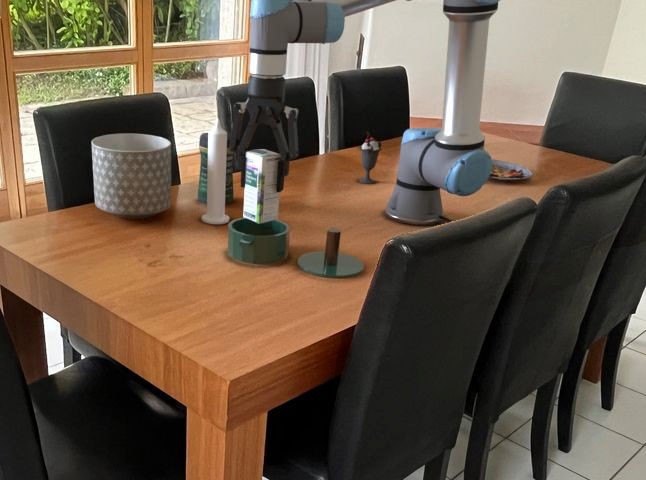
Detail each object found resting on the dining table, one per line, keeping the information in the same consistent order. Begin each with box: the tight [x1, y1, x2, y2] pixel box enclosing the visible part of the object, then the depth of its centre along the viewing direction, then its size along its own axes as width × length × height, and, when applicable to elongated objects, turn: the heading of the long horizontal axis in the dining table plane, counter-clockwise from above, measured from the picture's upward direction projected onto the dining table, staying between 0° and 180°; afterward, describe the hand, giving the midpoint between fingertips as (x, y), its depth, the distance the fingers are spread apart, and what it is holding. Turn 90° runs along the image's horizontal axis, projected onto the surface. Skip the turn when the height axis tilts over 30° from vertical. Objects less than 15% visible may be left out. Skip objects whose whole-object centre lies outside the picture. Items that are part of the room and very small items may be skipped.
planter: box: [91, 133, 172, 221], centre depth 185 cm, size 19×19×18 cm
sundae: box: [358, 131, 382, 185], centre depth 226 cm, size 7×7×15 cm
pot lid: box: [296, 227, 365, 279], centre depth 162 cm, size 15×15×9 cm
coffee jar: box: [197, 130, 235, 205], centre depth 199 cm, size 10×8×19 cm
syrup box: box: [242, 148, 281, 224], centre depth 161 cm, size 6×6×14 cm
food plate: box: [488, 158, 534, 182], centre depth 244 cm, size 25×23×4 cm
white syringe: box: [201, 117, 231, 225], centre depth 183 cm, size 7×7×25 cm
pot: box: [227, 217, 291, 265], centre depth 167 cm, size 14×19×7 cm
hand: (262, 188), depth 161 cm, fingers closed on syrup box, 7 cm apart
